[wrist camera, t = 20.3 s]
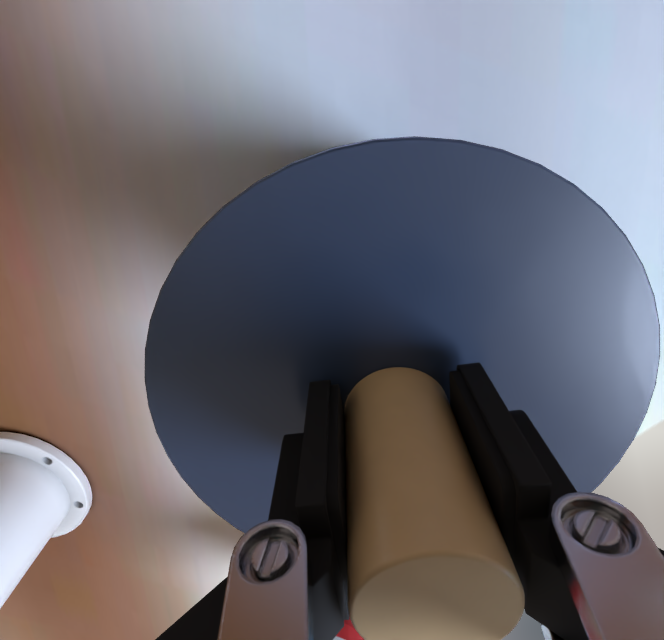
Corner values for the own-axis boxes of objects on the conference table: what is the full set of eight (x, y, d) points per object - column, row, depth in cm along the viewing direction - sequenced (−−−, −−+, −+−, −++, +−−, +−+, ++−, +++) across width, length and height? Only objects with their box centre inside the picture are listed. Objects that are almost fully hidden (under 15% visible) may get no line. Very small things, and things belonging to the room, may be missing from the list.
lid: (144, 497, 14) (13, 745, 9) (191, 57, 9) (-84, -73, 3) (503, 569, 16) (598, 826, 10) (741, 225, 10) (1270, 352, 4)
